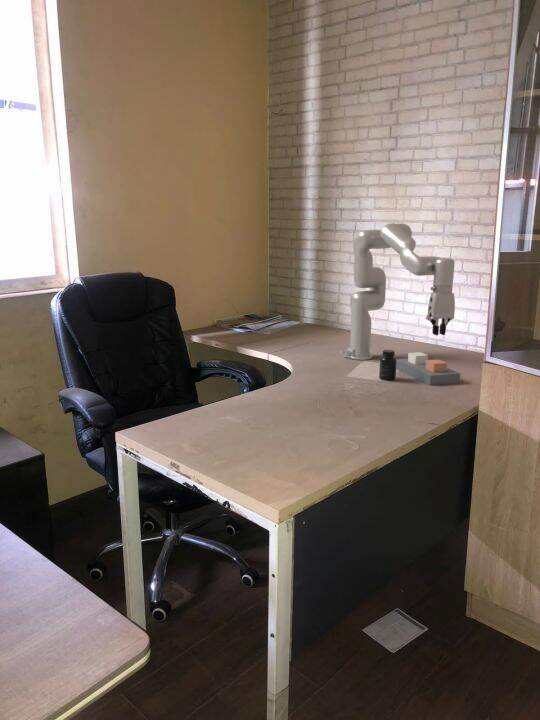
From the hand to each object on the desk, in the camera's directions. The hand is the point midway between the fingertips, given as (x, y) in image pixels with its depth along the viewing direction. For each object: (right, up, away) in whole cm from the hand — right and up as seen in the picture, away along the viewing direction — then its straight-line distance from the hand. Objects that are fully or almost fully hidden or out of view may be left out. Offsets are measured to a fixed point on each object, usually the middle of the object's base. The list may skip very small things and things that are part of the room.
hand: (438, 334), depth 236 cm
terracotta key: (0, -16, +4) cm, 17 cm away
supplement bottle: (-20, -19, +5) cm, 28 cm away
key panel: (-2, -17, +11) cm, 20 cm away
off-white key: (-4, -13, +17) cm, 22 cm away
